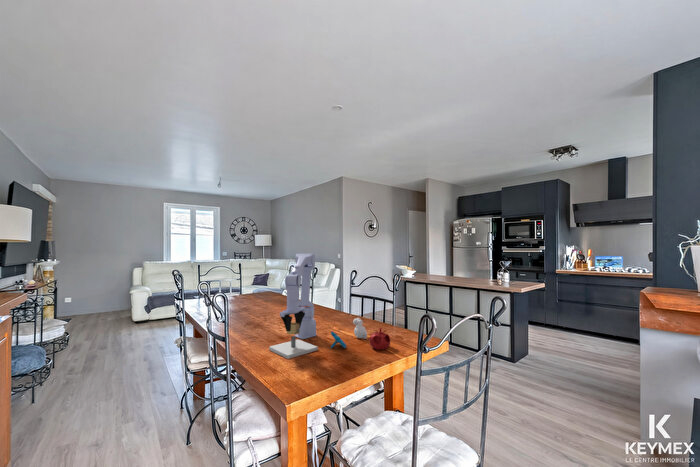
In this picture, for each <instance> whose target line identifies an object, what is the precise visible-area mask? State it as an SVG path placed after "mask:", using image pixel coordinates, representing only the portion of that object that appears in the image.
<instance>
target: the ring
mask: <svg viewBox="0 0 700 467" xmlns="http://www.w3.org/2000/svg"><path fill="white" fill-rule="evenodd" d="M298 333H299V323H297V322H295V321H293V322H292V321H291V330H290V331H286V334H287V335H297V334H298Z"/></svg>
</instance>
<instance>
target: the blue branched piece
mask: <svg viewBox="0 0 700 467" xmlns="http://www.w3.org/2000/svg"><path fill="white" fill-rule="evenodd" d="M330 334H331V336H332V338H333V339H334V341H333V343H332V344H331V346H330V348H332V349H333V348H334V347H335V346H336V345H337V344H340V345H341V347H342V348H344V349H345V348H347V345H346V343H345V342H344V340H342V338H341V337H340V336H339V335H337V333H335V332H334V331H331V332H330Z"/></svg>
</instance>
